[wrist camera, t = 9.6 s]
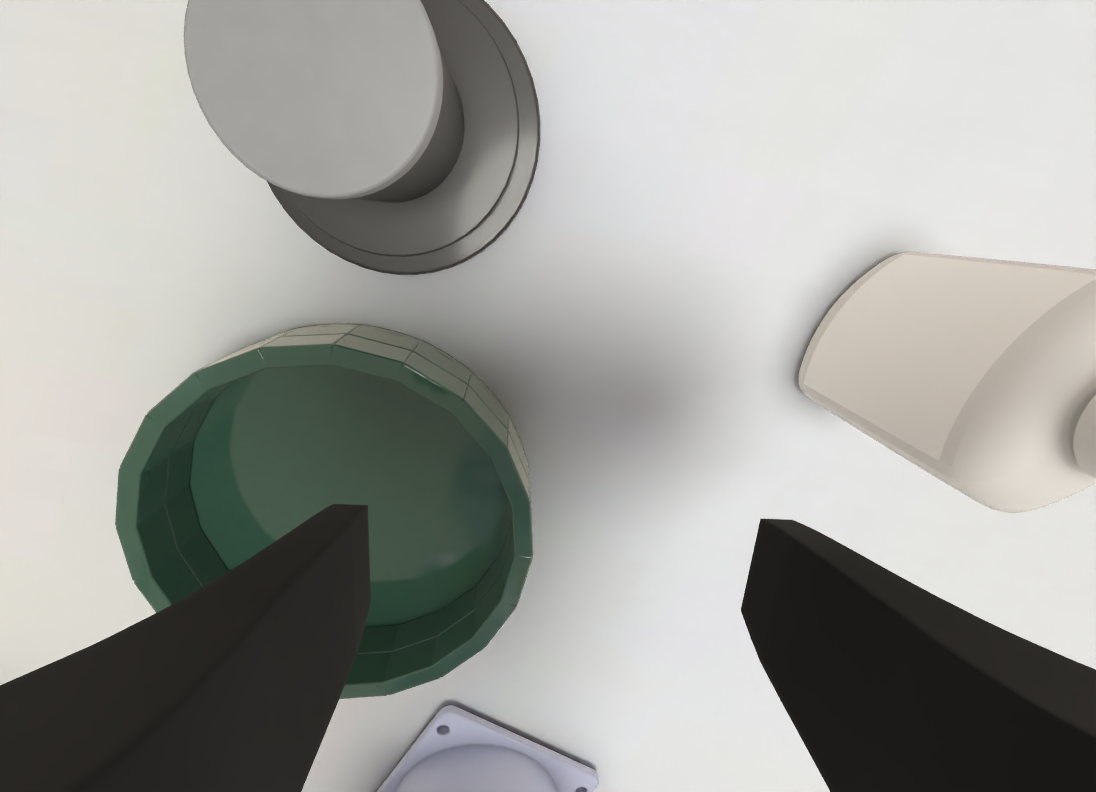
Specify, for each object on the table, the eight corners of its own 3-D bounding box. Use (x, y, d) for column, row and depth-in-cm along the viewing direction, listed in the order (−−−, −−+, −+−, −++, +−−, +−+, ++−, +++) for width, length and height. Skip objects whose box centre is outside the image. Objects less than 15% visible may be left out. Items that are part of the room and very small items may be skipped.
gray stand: (450, 320, 18) (442, 333, 16) (215, 171, 16) (176, 165, 14) (591, 95, 16) (601, 79, 14) (344, -101, 14) (318, -149, 12)
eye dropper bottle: (765, 319, 19) (1167, 484, 7) (922, 235, 18) (1632, 268, 7) (809, 423, 20) (1208, 703, 8) (957, 348, 19) (1598, 539, 8)
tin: (422, 676, 22) (407, 748, 19) (124, 539, 20) (53, 597, 17) (595, 444, 20) (610, 486, 17) (276, 247, 17) (224, 254, 14)
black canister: (416, 235, 15) (364, 245, 10) (277, 143, 14) (140, 100, 9) (496, 98, 14) (485, 30, 9) (353, -9, 13) (249, -155, 8)
